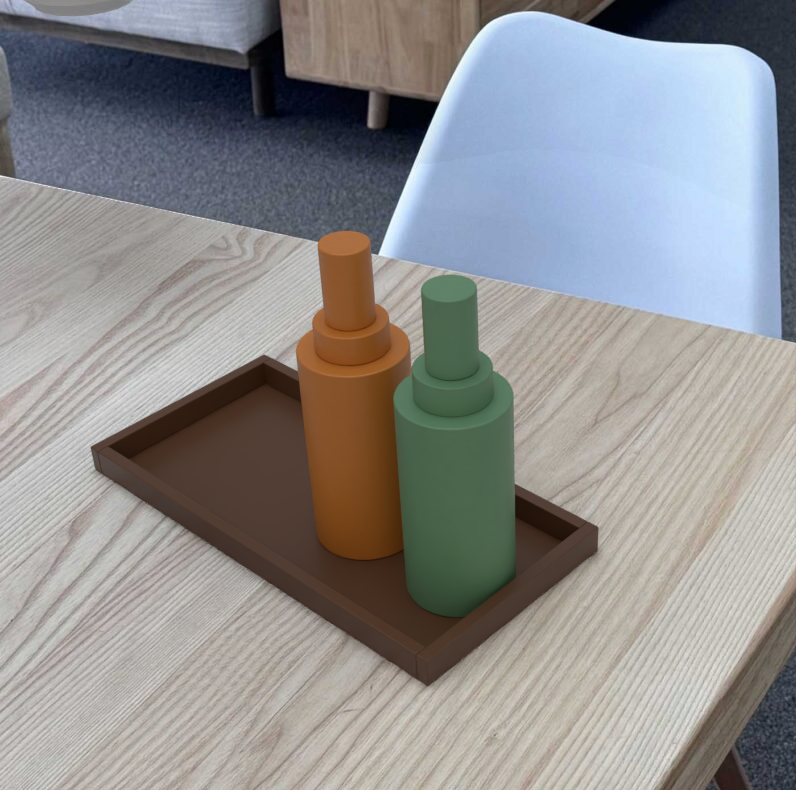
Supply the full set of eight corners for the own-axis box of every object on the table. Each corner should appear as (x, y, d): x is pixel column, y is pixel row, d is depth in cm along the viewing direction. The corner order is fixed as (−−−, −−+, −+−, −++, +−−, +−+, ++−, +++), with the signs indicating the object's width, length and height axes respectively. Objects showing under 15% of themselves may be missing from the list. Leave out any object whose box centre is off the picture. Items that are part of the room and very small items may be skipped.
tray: (97, 480, 77) (89, 446, 76) (268, 385, 85) (264, 353, 84) (428, 698, 63) (426, 661, 62) (597, 561, 71) (598, 526, 70)
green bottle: (383, 585, 69) (359, 291, 59) (458, 531, 72) (446, 245, 63) (464, 634, 66) (452, 333, 57) (538, 576, 69) (538, 283, 60)
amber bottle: (294, 530, 72) (258, 245, 63) (369, 482, 76) (346, 205, 66) (367, 575, 69) (341, 283, 60) (442, 522, 73) (428, 238, 63)
